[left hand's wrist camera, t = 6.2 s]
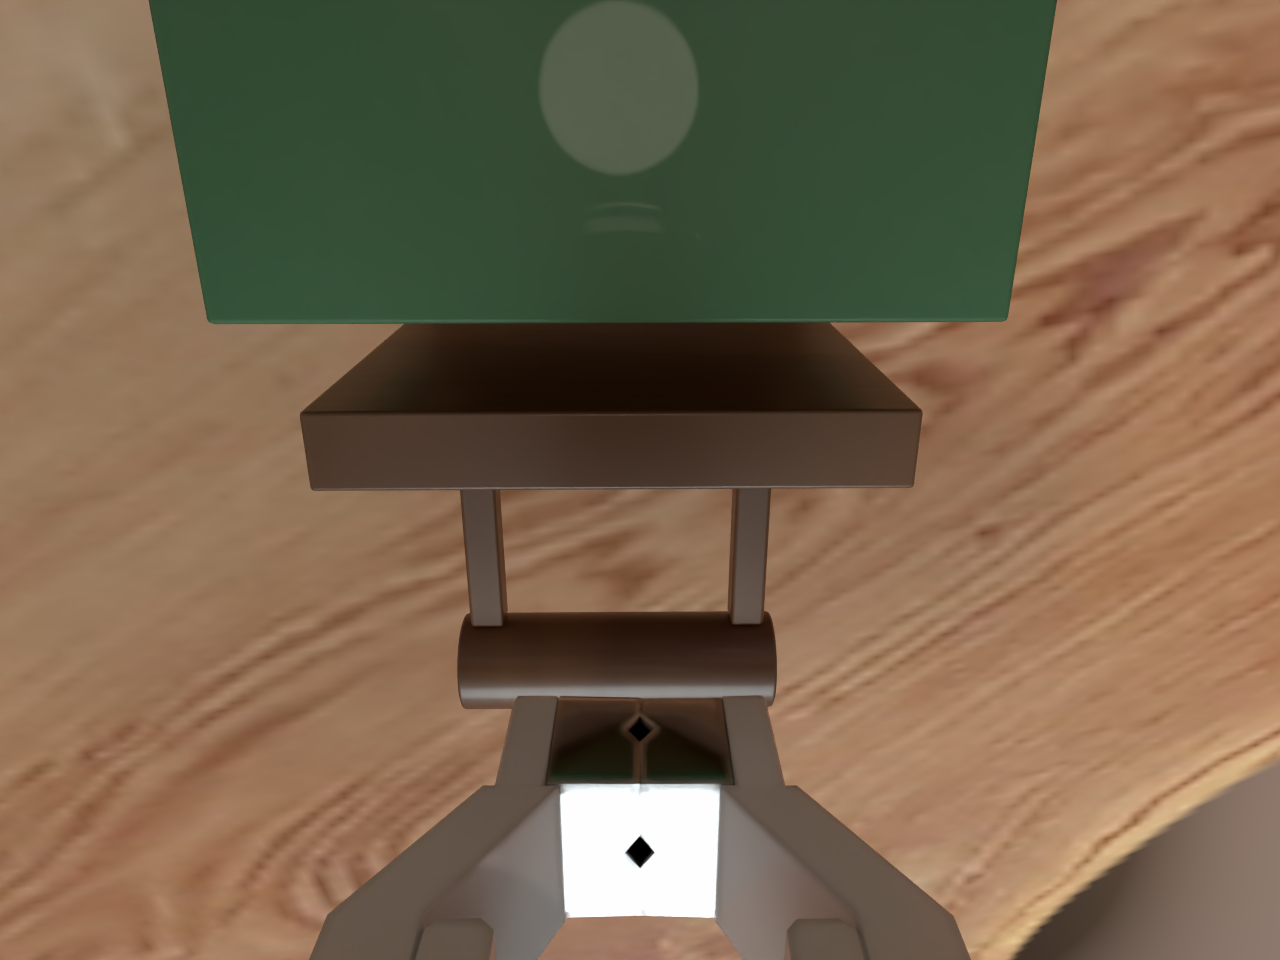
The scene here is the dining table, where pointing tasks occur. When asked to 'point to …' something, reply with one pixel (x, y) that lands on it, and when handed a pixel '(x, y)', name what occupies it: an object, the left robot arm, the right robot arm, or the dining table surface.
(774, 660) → the drawer
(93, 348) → the dining table surface
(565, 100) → the cabinet
